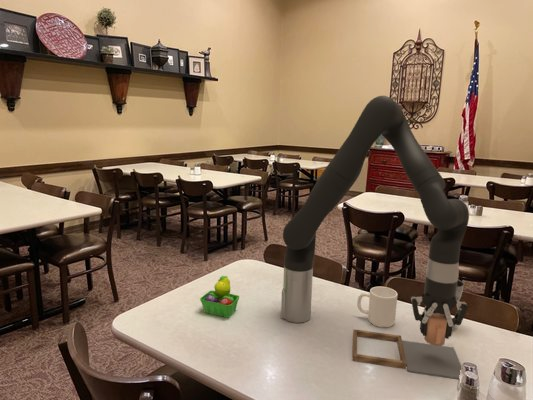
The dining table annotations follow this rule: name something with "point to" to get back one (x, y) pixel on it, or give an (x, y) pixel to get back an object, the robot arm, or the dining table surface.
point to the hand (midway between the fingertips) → (434, 335)
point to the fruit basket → (220, 299)
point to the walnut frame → (379, 360)
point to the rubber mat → (431, 359)
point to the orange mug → (436, 329)
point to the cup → (380, 306)
